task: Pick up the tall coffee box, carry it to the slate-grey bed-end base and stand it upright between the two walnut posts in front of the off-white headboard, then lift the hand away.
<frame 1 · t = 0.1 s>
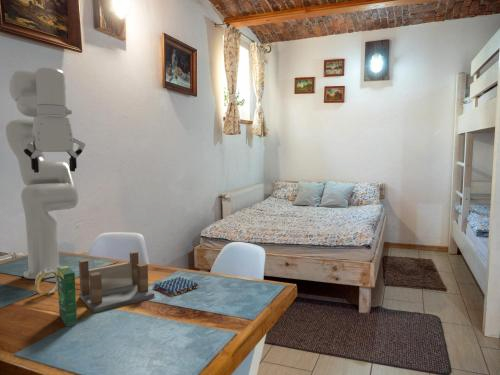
hand: (54, 171, 111), 37 cm above the table, tool pointing down, fingers open, 9 cm apart
woven mat: (175, 290, 119), on the table
coffee box: (67, 320, 96), on the table
bracelet: (48, 294, 114), on the table
bed end frame: (117, 297, 111), on the table
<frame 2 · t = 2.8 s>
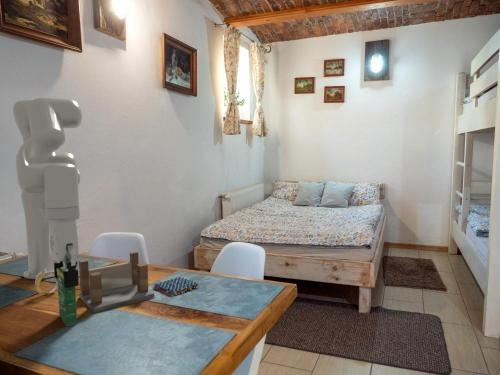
hand: (66, 281, 95), 10 cm above the table, tool pointing down, fingers open, 9 cm apart
nothing on the table moved.
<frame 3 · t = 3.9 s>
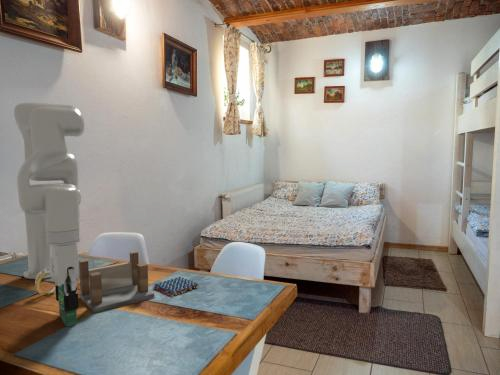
hand: (67, 304, 96), 4 cm above the table, tool pointing down, fingers closed on coffee box, 8 cm apart
coffee box: (67, 320, 96), on the table, touching gripper
everything else where it was.
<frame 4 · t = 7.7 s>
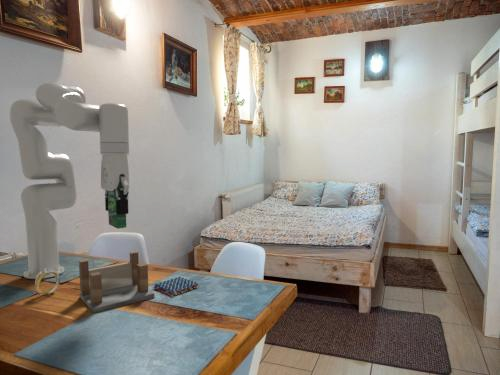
hand: (116, 211, 106), 26 cm above the table, tool pointing down, fingers closed on coffee box, 8 cm apart
coffee box: (117, 226, 107), point 21 cm above the table, touching gripper
everything else where it was.
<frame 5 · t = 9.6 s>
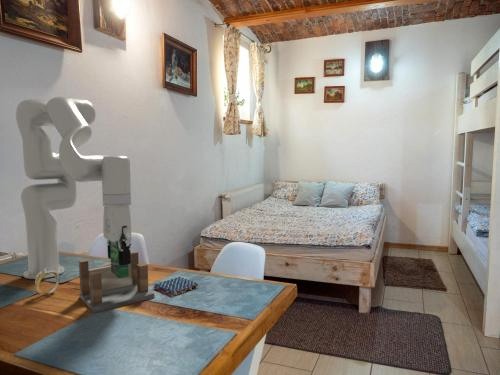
hand: (119, 260, 108), 12 cm above the table, tool pointing down, fingers closed on coffee box, 8 cm apart
coffee box: (119, 275, 108), point 7 cm above the table, touching gripper
everything else where it was.
when the fingers open (6 cm above the table, at t = 11.4 s): coffee box stays where it is, resting on bed end frame.
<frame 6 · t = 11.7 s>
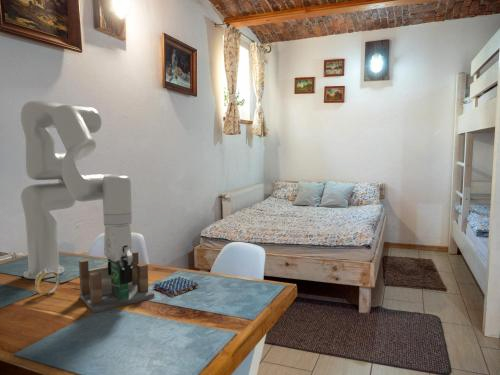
hand: (119, 278, 108), 6 cm above the table, tool pointing down, fingers open, 9 cm apart
coffee box: (119, 296, 109), point 1 cm above the table, touching bed end frame
everything else where it was.
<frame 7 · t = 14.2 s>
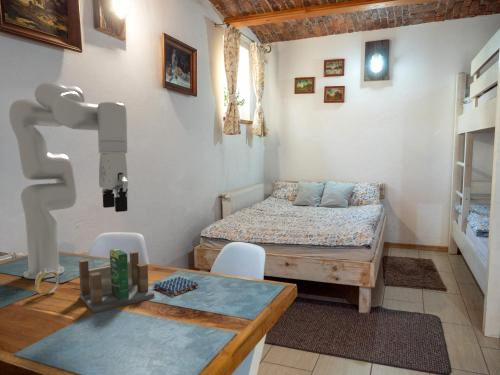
hand: (114, 209, 106), 26 cm above the table, tool pointing down, fingers open, 9 cm apart
nothing on the table moved.
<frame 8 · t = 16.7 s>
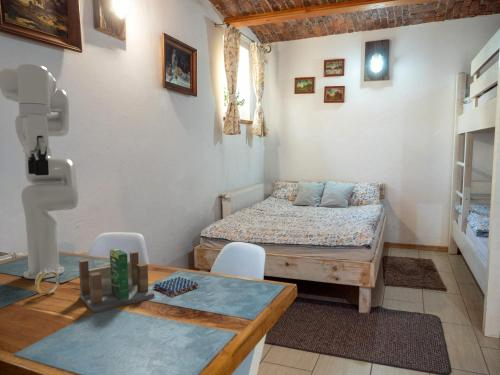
hand: (38, 174, 105), 36 cm above the table, tool pointing down, fingers open, 9 cm apart
nothing on the table moved.
at the end: coffee box 0.5 cm from the target spot on the bed end frame, point 1.0 cm above the bed end frame's base; coffee box tilted 0°; the gripper is holding nothing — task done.
